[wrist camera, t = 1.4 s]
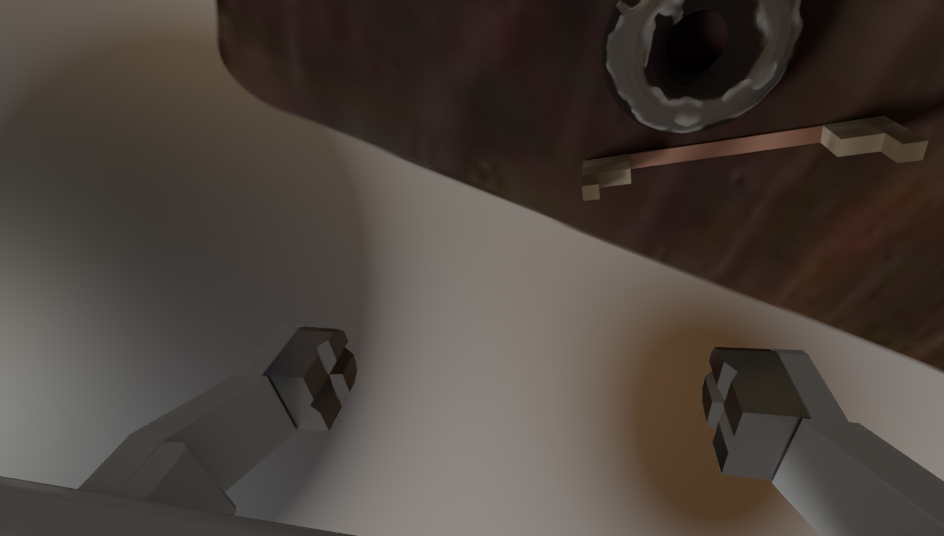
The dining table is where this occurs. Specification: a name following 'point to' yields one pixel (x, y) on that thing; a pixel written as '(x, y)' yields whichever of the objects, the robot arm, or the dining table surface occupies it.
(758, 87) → the donut
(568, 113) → the dining table surface
